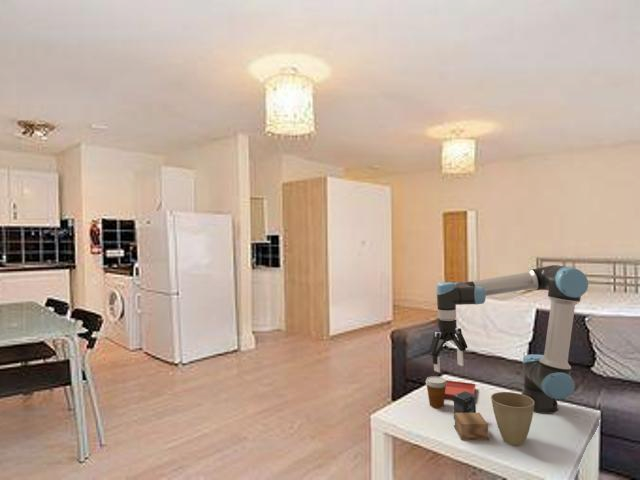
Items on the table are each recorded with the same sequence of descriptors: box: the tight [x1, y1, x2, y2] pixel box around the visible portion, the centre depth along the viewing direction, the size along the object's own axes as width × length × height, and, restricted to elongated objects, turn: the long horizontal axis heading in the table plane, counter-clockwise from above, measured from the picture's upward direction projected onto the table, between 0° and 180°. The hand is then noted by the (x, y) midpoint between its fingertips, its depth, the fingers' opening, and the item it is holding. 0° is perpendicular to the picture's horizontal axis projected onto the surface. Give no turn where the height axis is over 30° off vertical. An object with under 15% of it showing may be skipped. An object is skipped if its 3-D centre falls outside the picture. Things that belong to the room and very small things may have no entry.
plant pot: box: [490, 391, 534, 446], centre depth 153 cm, size 15×15×16 cm
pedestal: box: [453, 412, 490, 441], centre depth 159 cm, size 11×11×6 cm
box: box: [453, 391, 477, 421], centre depth 171 cm, size 8×6×11 cm
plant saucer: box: [445, 379, 477, 400], centre depth 199 cm, size 18×18×3 cm
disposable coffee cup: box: [425, 376, 447, 409], centre depth 186 cm, size 10×10×12 cm
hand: (449, 368), depth 171 cm, fingers open, 13 cm apart
